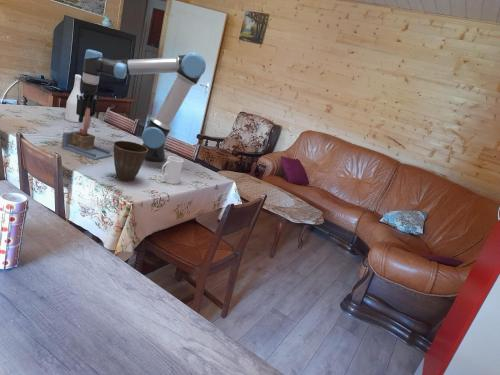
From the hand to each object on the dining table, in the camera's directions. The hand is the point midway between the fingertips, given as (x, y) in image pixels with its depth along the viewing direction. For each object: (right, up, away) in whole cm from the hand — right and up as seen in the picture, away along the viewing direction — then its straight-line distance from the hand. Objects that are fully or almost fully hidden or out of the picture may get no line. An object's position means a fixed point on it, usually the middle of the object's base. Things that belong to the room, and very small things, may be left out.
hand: (83, 128), depth 180 cm
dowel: (-1, -3, +1) cm, 3 cm away
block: (-3, -9, +3) cm, 10 cm away
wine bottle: (-32, +13, +51) cm, 61 cm away
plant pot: (+27, -27, -16) cm, 41 cm away
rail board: (+1, -12, +3) cm, 12 cm away
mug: (+44, -28, -4) cm, 52 cm away
